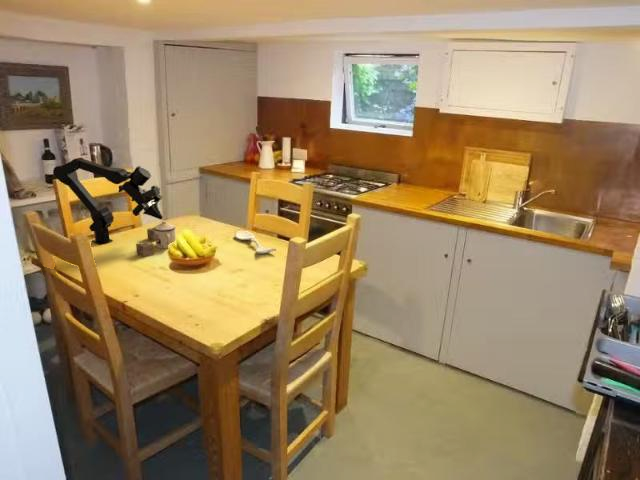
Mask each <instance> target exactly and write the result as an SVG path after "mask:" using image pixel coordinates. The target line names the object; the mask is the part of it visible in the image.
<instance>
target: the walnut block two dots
mask: <svg viewBox="0 0 640 480" xmlns="http://www.w3.org/2000/svg"><path fill="white" fill-rule="evenodd" d="M135 248H136V255H137V256H138V257H141V258H144V259H145V258H149V257H151V256H154V255H155V245H154V243H152V242H149V241H147V240H146V241H142V242H139V243H136V244H135Z"/></svg>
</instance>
